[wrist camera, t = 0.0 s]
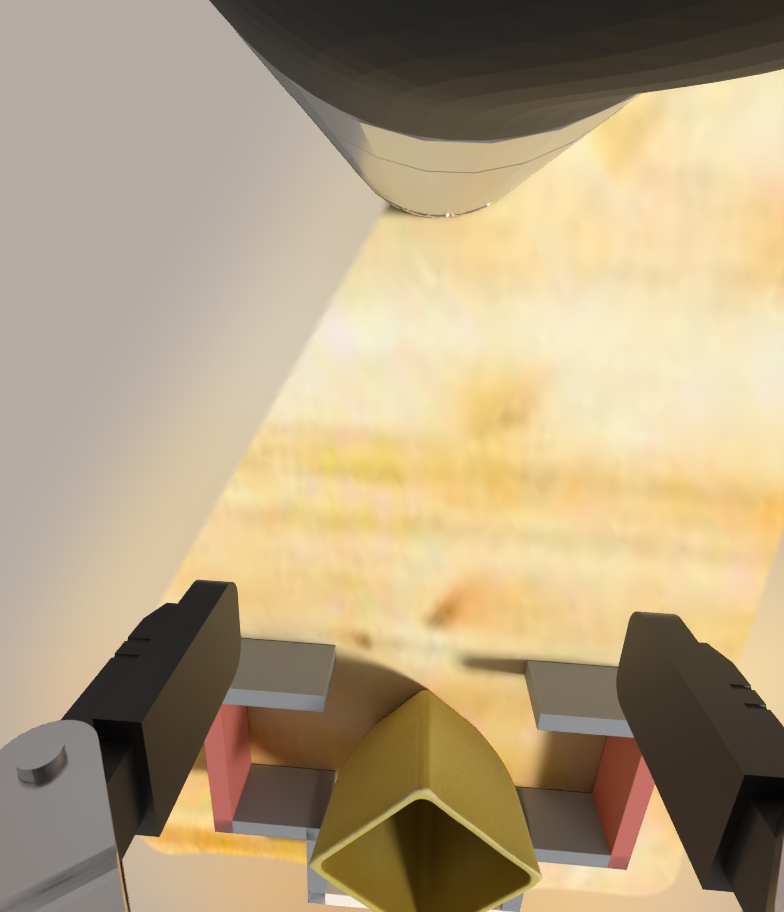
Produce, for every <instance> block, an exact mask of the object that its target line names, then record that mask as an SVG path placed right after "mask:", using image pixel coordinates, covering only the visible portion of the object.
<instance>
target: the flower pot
mask: <svg viewBox="0 0 784 912" xmlns="http://www.w3.org/2000/svg"><path fill="white" fill-rule="evenodd" d="M309 866H310V867H311V868H312V869H313V870H314V871H315V872H317V873H318V874H319V875H320V876H322V877H323V878H324V879H326V880H327V881H329V882H330V883H331V884H333V885H334V886H336V887H337V888H339V889H340V890H342V891H343V892H345V893H346V894H348V895H349V896H351V897H352V898H354V899H355V900H357V901H358V902H360V903H361V904H363V905H364V906H366V907H367V908H369V909H371V910H372V911H374V912H487V911H489V910H491V909H493V908H495V907H497V906H499V905H501V904H503V903H505V902H507V901H509V900H511V899H513V898H515V897H516V896H518V895H520V894H522V893H524V892H526V891H528V890H530V889H531V888H533V887H534V886H535V885H536V884H538V883H539V882H540V881H541V880H542V876H541V873H540V869H539V866H538V862H537V859H536V855H535V852H534V848H533V845H532V841H531V838H530V834H529V831H528V828H527V824H526V821H525V817H524V814H523V810H522V807H521V804H520V801H519V797H518V794H517V791H516V788H515V786H514V783H513V781H512V779H511V777H510V774H509V773H508V771H507V769H506V767H505V765H504V763H503V762H502V760H501V759H500V757H499V756H498V754H497V753H496V751H495V750H494V749H493V747H492V746H491V745H490V744H489V742H488V741H487V740H486V739H485V738H484V736H483V735H482V734H481V733H480V732H479V731H478V729H477V728H476V727H474V726H473V725H472V724H471V723H469V722H468V721H467V720H465V719H464V718H463V717H461V716H460V715H459V714H458V713H457V712H455V711H454V710H453V709H452V708H450V707H449V706H448V705H447V704H445V703H444V702H443V701H442V700H440V699H439V698H438V697H437V696H436V695H435V694H433V693H432V692H430V691H429V690H422V691H420V692H418V693H417V694H416V695H414V696H413V697H412V698H410V699H409V700H408V701H406V702H405V703H404V704H402V705H401V706H400V707H398V708H397V709H396V710H394V711H393V712H392V713H390V714H389V715H388V716H386V717H385V718H383V719H382V720H381V721H379V722H378V723H377V724H376V725H375V726H374V727H373V728H372V729H371V730H370V731H369V732H368V733H367V734H366V735H365V736H364V737H363V739H362V740H361V741H360V742H359V743H358V745H357V746H356V747H355V749H354V750H353V751H352V753H351V754H350V756H349V757H348V759H347V760H346V762H345V764H344V766H343V768H342V770H341V772H340V774H339V776H338V778H337V781H336V783H335V786H334V788H333V791H332V794H331V797H330V801H329V804H328V807H327V810H326V813H325V816H324V819H323V822H322V825H321V828H320V831H319V834H318V837H317V841H316V844H315V847H314V850H313V853H312V856H311V859H310V863H309Z"/></svg>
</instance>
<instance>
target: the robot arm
mask: <svg viewBox="0 0 784 912" xmlns="http://www.w3.org/2000/svg"><path fill="white" fill-rule="evenodd" d="M210 1H211V3H212V4H213V5H214V6H215V7H216V8H217V10H218V11H219V12H220V13H221V14H222V15H223V16H224V17H225V18H226V20H227V21H228V22H229V23H230V24H231V25H232V26H233V28H234V29H235V30H236V32H237V33H238V34H239V36H240V37H241V38H242V39H243V40H244V42H245V43H246V44H247V45H248V46H249V47H250V49H251V50H252V51H253V52H254V53H255V54H256V55H257V57H258V58H259V59H260V60H261V61H262V62H263V64H264V65H265V66H266V67H267V68H268V69H269V71H270V72H271V73H272V74H273V75H274V77H275V78H276V79H277V80H278V81H279V83H280V84H281V85H282V86H283V87H284V88H285V90H286V91H287V92H288V93H289V94H290V95H291V96H292V97H293V98H294V99H295V100H296V101H297V103H298V104H299V105H300V106H301V107H302V109H303V110H304V111H305V112H306V113H307V114H308V116H309V117H310V118H311V119H312V120H313V121H314V123H316V125H317V126H318V127H319V128H320V130H321V131H322V132H323V133H324V134H325V136H326V137H327V138H328V139H329V140H330V141H331V143H332V144H333V145H334V146H335V147H336V149H337V150H338V151H339V152H340V153H341V154H342V156H343V157H344V158H345V159H346V160H347V161H348V163H349V164H350V165H351V166H352V168H353V169H354V170H355V171H356V172H357V173H358V174H359V176H360V177H361V178H362V179H363V180H364V181H365V182H366V183H367V184H368V186H369V187H370V188H371V189H372V190H373V191H374V192H375V193H376V194H377V195H379V196H380V197H381V198H383V199H384V200H386V201H387V202H388V203H390V204H391V205H393V206H394V207H396V208H399V209H401V210H404V211H406V212H408V213H411V214H413V215H418V216H424V217H430V218H448V217H459V216H462V215H465V214H468V213H472V212H475V211H478V210H480V209H482V208H485V207H487V206H489V205H490V204H491V203H493V202H495V201H496V200H498V199H500V198H501V197H502V196H504V195H505V194H506V193H508V192H509V191H511V190H512V189H514V188H515V187H517V186H518V185H519V184H521V183H522V182H523V181H525V180H526V179H527V178H529V177H530V176H531V175H533V174H534V173H535V172H537V171H538V170H539V169H541V168H542V167H544V166H545V165H546V164H548V163H549V162H550V161H552V160H553V159H554V158H556V157H557V156H558V155H560V154H561V153H562V152H564V151H565V150H566V149H568V148H569V147H570V146H572V145H573V144H574V143H576V142H577V141H579V140H580V139H581V138H583V137H584V136H585V135H587V134H588V133H589V132H591V131H592V130H593V129H595V128H596V127H597V126H599V125H600V124H601V123H603V122H604V121H605V120H607V119H608V118H610V117H611V116H612V115H614V114H615V113H616V112H618V111H619V110H620V109H622V108H623V107H624V106H625V105H626V104H627V103H629V102H630V101H632V100H633V99H634V98H636V97H637V96H638V95H640V94H641V93H646V92H653V91H659V90H666V89H673V88H680V87H687V86H693V85H700V84H707V83H714V82H719V81H725V80H730V79H736V78H741V77H747V76H752V75H758V74H763V73H768V72H772V71H777V70H781V69H784V0H210ZM240 654H241V636H240V621H239V607H238V593H237V587H236V585H235V583H234V582H222V581H208V580H196V581H195V582H194V583H193V584H192V585H191V587H190V588H189V589H188V591H187V592H186V593H185V595H184V596H183V597H182V599H181V600H180V601H179V603H178V604H175V603H166V604H164V605H163V606H161V607H160V608H158V609H157V610H155V611H154V612H152V613H151V614H149V615H148V616H146V617H145V618H143V620H142V621H141V622H140V623H139V625H138V626H137V627H136V628H135V629H134V631H133V632H132V633H131V634H130V636H129V637H128V641H125V642H124V643H123V644H122V645H121V647H120V648H119V649H118V650H117V651H116V653H115V656H114V658H111V659H110V660H109V661H108V663H107V664H106V665H105V666H104V667H103V669H102V670H101V671H100V672H99V674H98V675H97V676H96V677H95V679H94V680H93V681H92V682H91V683H90V685H89V686H88V687H87V688H86V690H85V691H84V692H83V693H82V694H81V696H80V697H79V698H78V699H77V701H76V702H75V703H74V704H73V705H72V707H71V708H70V709H69V710H68V712H67V713H66V714H65V715H64V717H63V718H62V719H61V720H60V721H55V722H50V723H47V724H43V725H40V726H38V727H36V728H33V729H31V730H29V731H27V732H25V733H23V734H21V735H20V736H18V737H17V738H15V739H13V740H12V741H11V742H9V743H8V744H7V745H5V746H4V747H3V748H2V749H1V750H0V912H131V909H130V903H129V897H128V891H127V885H126V879H125V874H124V867H123V862H122V859H123V857H124V855H125V853H126V851H127V849H128V847H129V845H130V843H131V841H132V840H133V837H134V836H135V835H144V836H155V837H160V835H161V832H162V830H163V828H164V826H165V824H166V822H167V820H168V818H169V815H170V813H171V811H172V809H173V807H174V805H175V803H176V801H177V798H178V796H179V794H180V792H181V790H182V788H183V786H184V784H185V781H186V779H187V777H188V775H189V773H190V771H191V769H192V767H193V764H194V762H195V760H196V758H197V756H198V754H199V752H200V750H201V747H202V745H203V743H204V741H205V739H206V737H207V735H208V733H209V730H210V728H211V726H212V724H213V722H214V720H215V718H216V716H217V713H218V711H219V709H220V707H221V705H222V703H223V701H224V699H225V696H226V694H227V692H228V690H229V688H230V686H231V684H232V682H233V679H234V677H235V675H236V672H237V669H238V665H239V660H240ZM616 688H617V696H618V701H619V704H620V707H621V710H622V712H623V714H624V716H625V718H626V721H627V723H628V725H629V727H630V729H631V732H632V734H633V736H634V738H635V740H636V743H637V745H638V747H639V749H640V751H641V754H642V756H643V758H644V760H645V763H646V765H647V767H648V769H649V771H650V774H651V776H652V778H653V780H654V782H655V785H656V787H657V789H658V791H659V793H660V796H661V798H662V800H663V802H664V805H665V807H666V809H667V811H668V813H669V816H670V818H671V820H672V822H673V824H674V827H675V829H676V831H677V833H678V835H679V838H680V840H681V842H682V844H683V846H684V849H685V851H686V853H687V855H688V857H689V860H690V862H691V864H692V866H693V869H694V871H695V873H696V875H697V877H698V879H699V882H700V884H701V886H702V888H703V889H705V890H716V891H727V892H734V894H735V896H736V898H737V900H738V902H739V904H740V906H741V908H742V911H741V912H784V727H783V725H782V724H781V723H780V722H779V720H778V719H777V718H776V717H775V715H774V714H773V713H772V712H771V710H767V709H766V704H765V703H764V701H763V700H762V699H761V698H760V696H759V695H758V694H757V693H756V692H755V690H751V685H750V684H749V683H748V681H747V680H746V679H745V678H744V676H743V675H742V674H741V672H740V671H739V670H738V669H737V667H736V666H735V665H734V664H733V663H732V662H731V661H730V660H728V659H727V658H726V657H724V656H723V655H722V654H720V653H719V652H718V651H717V650H715V649H714V648H713V647H711V646H710V645H709V644H707V643H699V642H698V641H697V640H696V638H695V637H694V636H693V634H692V633H691V632H690V630H689V629H688V628H687V626H686V625H685V624H684V622H683V621H682V620H681V618H680V617H679V616H677V615H675V614H663V613H649V612H634V613H633V614H632V615H631V617H630V620H629V623H628V628H627V632H626V636H625V641H624V645H623V649H622V654H621V658H620V662H619V666H618V671H617V677H616Z"/></svg>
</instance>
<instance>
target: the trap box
mask: <svg viewBox="0 0 784 912" xmlns="http://www.w3.org/2000/svg"><path fill="white" fill-rule="evenodd" d="M334 664H335V646H334V645H321V644H308V643H295V642H282V641H269V640H256V639H243V638H241V654H240V660H239V665H238V669H237V672H236V675H235V677H234V679H233V682H232V684H231V686H230V688H229V690H228V692H227V694H226V696H225V699H224V701H223V703H222V705H221V707H220V709H219V711H218V713H217V716H216V718H215V720H214V722H213V724H212V726H211V728H210V730H209V733H208V735H207V737H206V739H205V741H204V745H205V753H206V761H207V769H208V777H209V785H210V793H211V801H212V809H213V817H214V825H215V832H225V833H235V834H246V835H257V836H268V837H279V838H289V839H300V840H306V841H307V877H308V903H317V904H328V905H338V906H349V907H358V908H367V907H366V906H364V905H363V904H361V903H360V902H358V901H357V900H355V899H354V898H352V897H351V896H349V895H348V894H346V893H345V892H343V891H342V890H340V889H339V888H337V887H336V886H334V885H333V884H331V883H330V882H329V881H327V880H326V879H324V878H323V877H322V876H320V875H319V874H318V873H317V872H315V871H314V870H313V869H312V868H311V867H310V866H309V863H310V859H311V856H312V853H313V850H314V847H315V844H316V841H317V837H318V834H319V831H320V828H321V825H322V822H323V819H324V816H325V813H326V810H327V807H328V804H329V801H330V797H331V794H332V791H333V788H334V786H335V771H328V770H316V769H305V768H293V767H282V766H270V765H259V764H252V763H251V750H250V738H249V725H248V713H247V706H256V707H268V708H280V709H292V710H304V711H316V712H324V710H325V705H326V701H327V696H328V692H329V687H330V682H331V678H332V673H333V669H334ZM617 671H618V667H606V666H593V665H580V664H567V663H554V662H541V661H528V660H527V665H526V670H525V679H526V683H527V688H528V692H529V696H530V700H531V705H532V709H533V713H534V717H535V722H536V726H537V730H547V731H559V732H571V733H583V734H595V735H607V739H606V743H605V746H604V750H603V754H602V758H601V761H600V765H599V769H598V773H597V776H596V780H595V784H594V787H593V791H592V793H580V792H569V791H557V790H546V789H534V788H523V787H515V788H516V791H517V794H518V797H519V801H520V804H521V807H522V810H523V814H524V817H525V821H526V824H527V828H528V831H529V834H530V838H531V841H532V845H533V848H534V852H535V855H536V859H537V861H538V862H548V863H559V864H570V865H581V866H592V867H602V868H613V869H624V870H627V867H628V864H629V861H630V858H631V855H632V852H633V849H634V846H635V843H636V839H637V836H638V833H639V830H640V827H641V824H642V821H643V818H644V815H645V812H646V809H647V806H648V803H649V800H650V797H651V794H652V791H653V788H654V785H655V782H654V780H653V778H652V776H651V774H650V771H649V769H648V767H647V765H646V763H645V760H644V758H643V756H642V754H641V751H640V749H639V747H638V745H637V743H636V740H635V738H634V736H633V734H632V732H631V729H630V727H629V725H628V723H627V721H626V718H625V716H624V714H623V712H622V710H621V707H620V704H619V701H618V696H617V688H616V677H617ZM523 894H524V893H522V894H520V895H518V896H516V897H515V898H513V899H511V900H509V901H507V902H505V903H503V904H501V905H499V906H497V907H495V908H493V909H491V910H489V911H487V912H520V908H521V903H522V899H523Z"/></svg>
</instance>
